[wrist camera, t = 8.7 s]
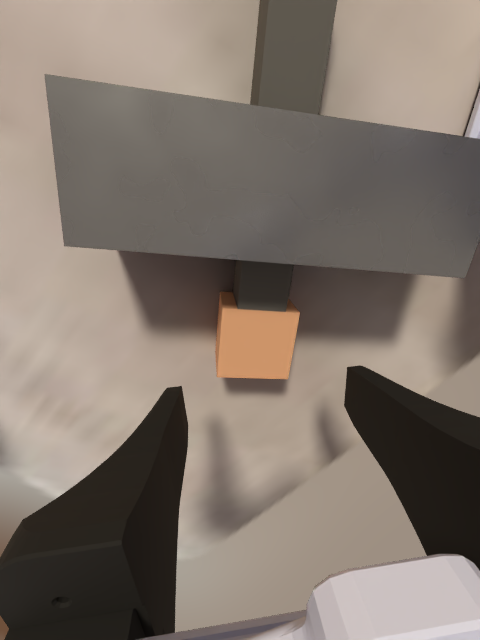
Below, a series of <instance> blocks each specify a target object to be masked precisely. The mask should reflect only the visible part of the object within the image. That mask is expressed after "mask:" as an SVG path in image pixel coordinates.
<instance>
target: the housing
mask: <svg viewBox="0 0 480 640" xmlns="http://www.w3.org/2000/svg"><path fill="white" fill-rule="evenodd" d="M45 83H46V91H47V100H48V109H49V117H50V126H51V135H52V144H53V152H54V161H55V170H56V179H57V187H58V196H59V205H60V213H61V222H62V231H63V240H64V246H70V247H82V248H95V249H107V250H120V251H132V252H145V253H157V254H170V255H182V256H195V257H207V258H219V259H232V260H244V261H257V262H269V263H282V264H294V265H307V266H319V267H331V268H344V269H356V270H369V271H381V272H394V273H406V274H419V275H431V276H443V277H456V278H465V277H466V274H467V272H468V269H469V266H470V264H471V261H472V259H473V256H474V253H475V251H476V248H477V245H478V243H479V240H480V139H477V138H471V137H464V136H457V135H450V134H444V133H437V132H430V131H424V130H417V129H410V128H403V127H397V126H390V125H383V124H377V123H370V122H363V121H356V120H350V119H343V118H336V117H330V116H323V115H316V114H309V113H303V112H296V111H289V110H283V109H276V108H269V107H262V106H256V105H249V104H242V103H236V102H229V101H222V100H215V99H209V98H202V97H195V96H189V95H182V94H175V93H168V92H162V91H155V90H148V89H142V88H135V87H128V86H121V85H115V84H108V83H101V82H95V81H88V80H81V79H74V78H68V77H61V76H54V75H48V74H45Z"/></svg>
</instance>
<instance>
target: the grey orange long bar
mask: <svg viewBox="0 0 480 640" xmlns="http://www.w3.org/2000/svg"><path fill="white" fill-rule="evenodd" d="M336 5H337V0H260V5H259V16H258V27H257V38H256V48H255V59H254V70H253V80H252V91H251V102H250V105H256V106H262V107H269V108H276V109H283V110H289V111H296V112H303V113H309V114H316V115H318V114H319V108H320V102H321V96H322V90H323V84H324V78H325V72H326V66H327V60H328V53H329V47H330V41H331V35H332V29H333V23H334V17H335V11H336ZM293 266H294V264H282V263H269V262H257V261H244V260H236V263H235V273H234V284H233V292H221V291H220V299H219V312H218V325H217V338H216V351H215V353H216V369H217V377H228V378H264V379H288V376H289V370H290V365H291V359H292V354H293V348H294V343H295V337H296V332H297V327H298V321H299V316H300V312H299V311H298V310H297V309H296V307H295V306H294V305H293V304H292V303H291V301H290V300H289V299H288V296H289V290H290V284H291V278H292V272H293Z"/></svg>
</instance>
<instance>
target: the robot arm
mask: <svg viewBox="0 0 480 640" xmlns="http://www.w3.org/2000/svg"><path fill="white" fill-rule="evenodd" d="M464 137H471V138H477V139H480V90H479V93H478V96H477V99H476V102H475V105H474V108H473V112H472V115H471V118H470V121H469V124H468V127H467V130H466V133H465V136H464ZM344 406H345V408H346V410H347V413H348V415H349V417H350V419H351V421H352V423H353V425H354V427H355V428H356V430H357V431H358V433H359V434H360V436H361V437H362V439H363V441H364V442H365V444H366V445H367V447H368V448H369V449H370V451H371V453H372V454H373V456H374V457H375V459H376V460H377V461H378V463H379V465H380V466H381V468H382V469H383V471H384V472H385V474H386V476H387V477H388V479H389V481H390V482H391V484H392V486H393V488H394V490H395V491H396V494H397V495H398V497H399V499H400V501H401V503H402V505H403V507H404V509H405V511H406V513H407V515H408V517H409V519H410V521H411V523H412V525H413V527H414V529H415V531H416V533H417V535H418V537H419V539H420V541H421V544H422V546H423V548H424V550H425V552H426V554H427V556H424V557H418V558H411V559H405V560H399V561H393V562H387V563H381V564H375V565H370V566H363V567H357V568H352V569H347V570H344V571H341V572H338V573H335V574H332V575H329V576H328V577H327V578H325V579H324V580H323V581H321V582H320V583H319V584H317V585H316V586H315V587H314V589H313V592H312V594H311V596H310V598H309V600H308V603H307V610H302V611H297V612H291V613H285V614H279V615H274V616H268V617H262V618H256V619H251V620H245V621H239V622H233V623H228V624H222V625H216V626H210V627H205V628H199V629H193V630H188V631H182V632H176V633H175V595H176V563H177V538H178V518H179V505H180V497H181V490H182V483H183V476H184V469H185V462H186V455H187V448H188V422H187V415H186V409H185V403H184V397H183V391H182V386H179V387H170V388H167V389H166V390H165V391H164V392H163V394H162V395H161V397H160V398H159V400H158V401H157V403H156V404H155V405H154V407H153V408H152V410H151V411H150V412H149V414H148V415H147V416H146V418H145V419H144V420H143V421H142V423H141V424H140V425H139V426H138V427H137V429H136V430H135V431H134V432H133V433H132V435H131V436H130V437H129V438H128V439H127V440H126V441H125V442H124V443H123V444H122V446H121V447H120V448H118V449H117V450H116V451H115V452H114V453H113V454H112V455H111V456H110V457H109V458H108V459H107V460H106V461H104V462H103V463H102V464H101V465H100V466H99V467H97V468H96V469H95V470H94V471H93V472H92V473H90V474H89V475H88V476H87V477H85V478H84V479H83V480H81V481H80V482H79V483H78V484H76V485H75V486H73V487H72V488H71V489H69V490H68V491H67V492H65V493H64V494H62V495H61V496H59V497H58V498H56V499H55V500H53V501H52V502H51V503H49V504H47V505H46V506H44V507H43V508H41V509H40V510H38V511H36V512H35V513H33V514H32V515H30V516H28V517H27V518H25V519H23V520H22V522H21V524H20V525H19V527H18V528H17V530H16V531H15V533H14V534H13V536H12V538H11V539H10V541H9V543H8V545H7V546H6V548H5V550H4V552H3V554H2V556H1V557H0V616H1V617H2V618H3V620H4V622H5V623H6V624H7V626H8V627H9V631H8V633H7V635H6V637H5V640H480V417H476V416H473V415H470V414H467V413H464V412H462V411H458V410H456V409H453V408H450V407H448V406H446V405H443V404H440V403H438V402H436V401H433V400H431V399H429V398H426V397H424V396H422V395H420V394H417V393H415V392H413V391H411V390H409V389H407V388H405V387H403V386H401V385H399V384H397V383H395V382H393V381H391V380H389V379H387V378H385V377H383V376H382V375H380V374H378V373H376V372H374V371H372V370H370V369H368V368H365V367H363V366H353V367H347V378H346V391H345V403H344Z"/></svg>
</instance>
